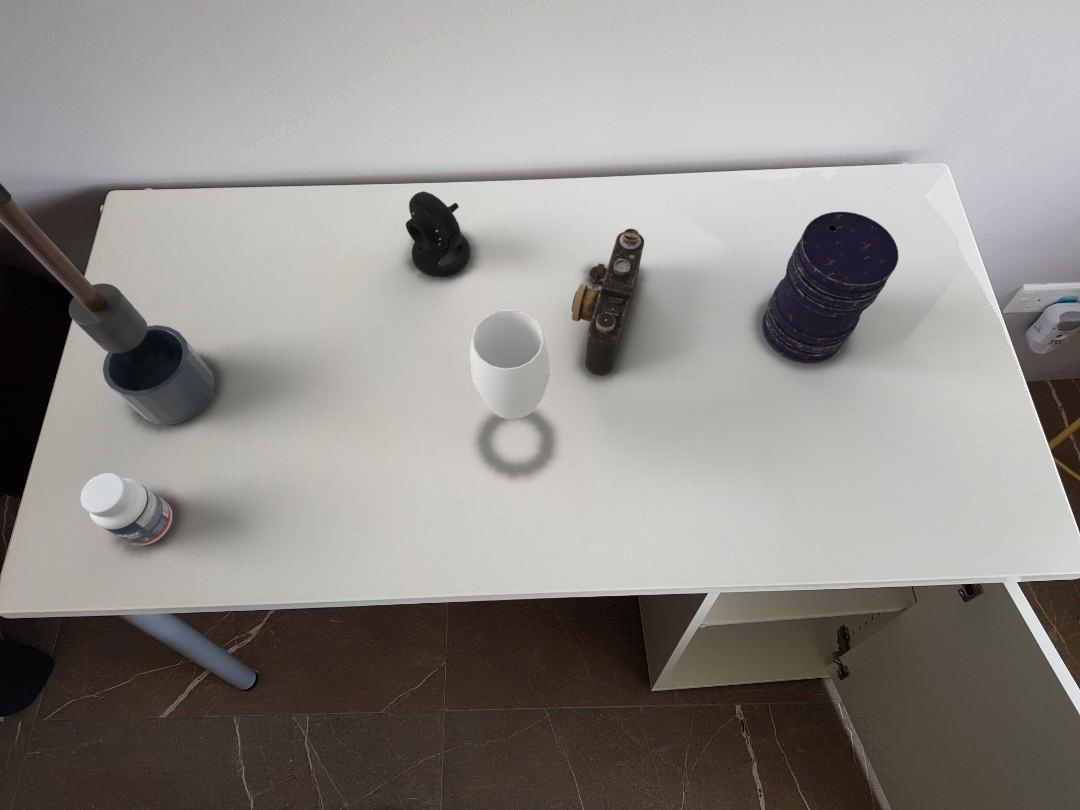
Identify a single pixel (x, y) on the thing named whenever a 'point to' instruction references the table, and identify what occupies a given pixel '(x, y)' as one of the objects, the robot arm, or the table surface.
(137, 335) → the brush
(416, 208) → the webcam
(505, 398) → the white tall cylinder
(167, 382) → the gray open cylinder
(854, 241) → the navy stacked disc cylinder
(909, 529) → the table surface
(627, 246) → the camera
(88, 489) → the pill bottle
